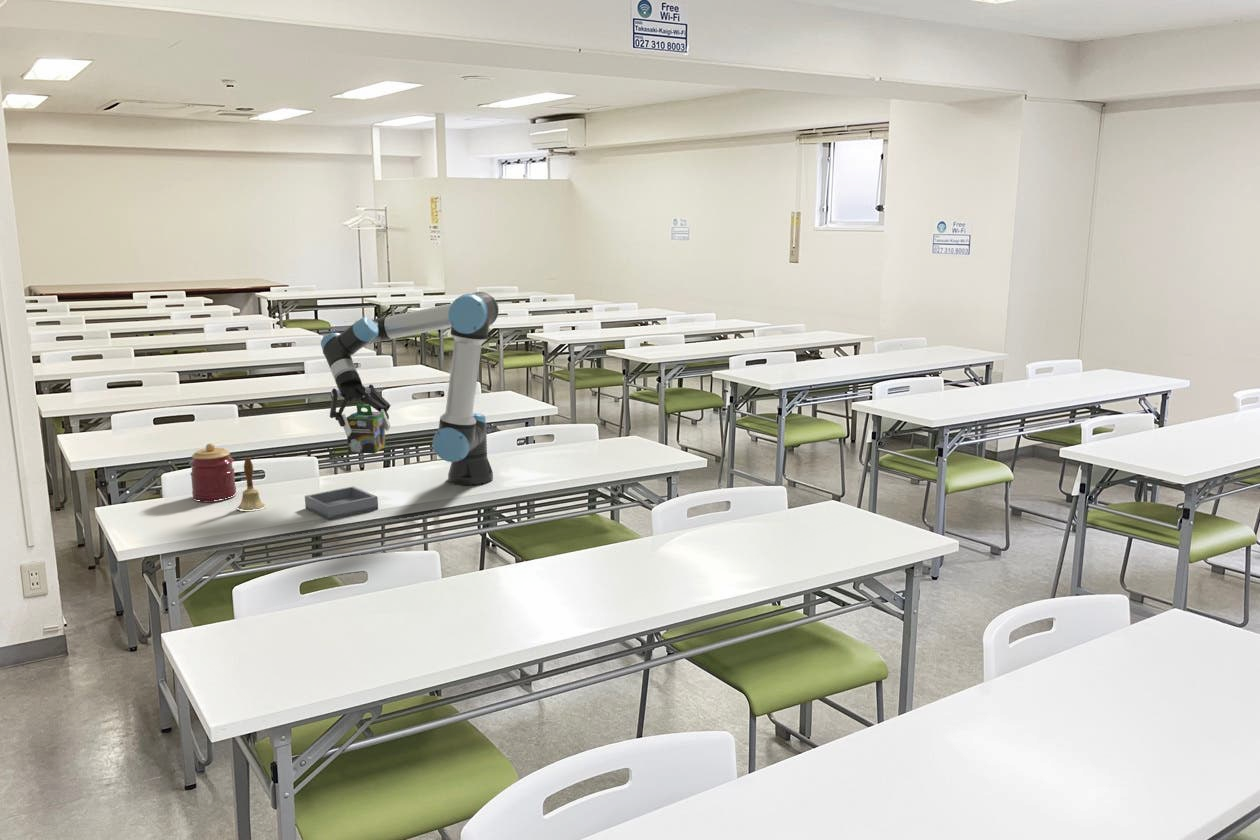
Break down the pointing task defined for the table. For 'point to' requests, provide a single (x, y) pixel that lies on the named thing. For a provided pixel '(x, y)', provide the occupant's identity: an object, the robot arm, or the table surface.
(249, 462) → the hand bell
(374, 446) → the chalk box
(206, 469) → the canister
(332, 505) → the tray
